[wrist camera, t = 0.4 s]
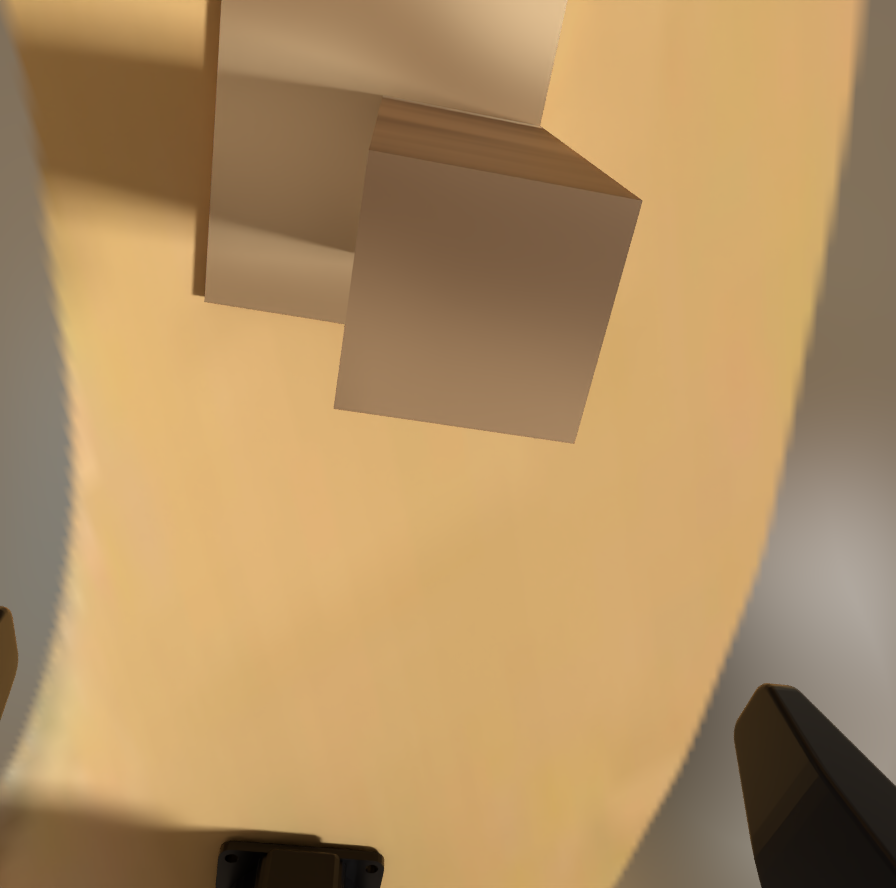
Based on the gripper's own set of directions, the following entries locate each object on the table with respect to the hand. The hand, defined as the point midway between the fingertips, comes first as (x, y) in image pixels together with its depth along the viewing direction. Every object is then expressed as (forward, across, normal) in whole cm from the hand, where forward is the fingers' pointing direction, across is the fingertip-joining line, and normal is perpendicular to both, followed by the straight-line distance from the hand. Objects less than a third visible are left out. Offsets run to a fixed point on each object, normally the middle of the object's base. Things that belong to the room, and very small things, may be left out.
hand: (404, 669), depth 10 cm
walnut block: (+15, -1, -1) cm, 15 cm away
